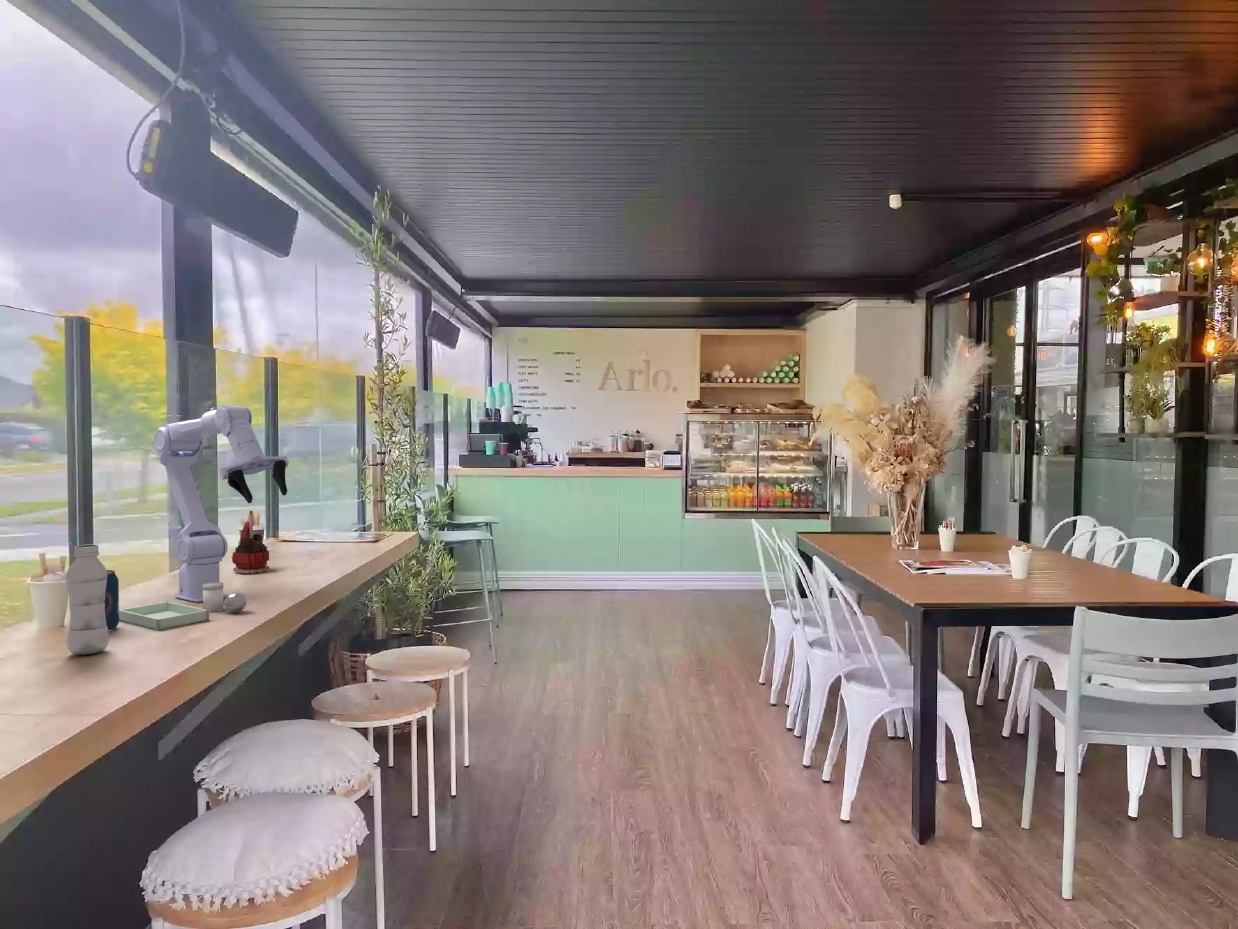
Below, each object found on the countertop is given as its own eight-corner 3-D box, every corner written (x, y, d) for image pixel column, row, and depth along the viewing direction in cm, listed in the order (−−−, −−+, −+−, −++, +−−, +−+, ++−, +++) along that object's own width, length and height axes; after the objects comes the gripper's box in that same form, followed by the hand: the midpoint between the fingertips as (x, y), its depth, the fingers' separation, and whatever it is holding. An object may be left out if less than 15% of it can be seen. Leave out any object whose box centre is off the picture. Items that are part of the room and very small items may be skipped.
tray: (117, 620, 175) (117, 610, 175) (168, 610, 184) (168, 601, 184) (158, 630, 166) (157, 619, 166) (209, 620, 176) (208, 610, 176)
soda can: (77, 635, 161) (76, 576, 161) (81, 628, 168) (80, 570, 167) (117, 632, 165) (116, 573, 164) (120, 624, 171) (119, 568, 170)
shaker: (198, 610, 185) (198, 584, 185) (216, 607, 189) (216, 581, 189) (209, 612, 183) (209, 586, 183) (227, 609, 187) (227, 583, 186)
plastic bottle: (118, 650, 151) (116, 544, 150) (83, 660, 144) (81, 549, 144) (92, 647, 153) (91, 542, 152) (57, 656, 147) (56, 547, 146)
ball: (219, 613, 182) (219, 593, 182) (238, 609, 186) (238, 589, 186) (232, 615, 180) (231, 595, 180) (250, 612, 184) (250, 592, 184)
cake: (258, 575, 230) (258, 512, 230) (226, 575, 230) (226, 512, 230) (275, 569, 241) (274, 509, 240) (244, 568, 241) (243, 508, 240)
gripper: (215, 444, 179) (236, 494, 174) (281, 433, 188) (303, 480, 184) (212, 462, 183) (232, 511, 179) (276, 450, 193) (297, 496, 188)
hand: (268, 496), depth 182 cm, fingers open, 7 cm apart
